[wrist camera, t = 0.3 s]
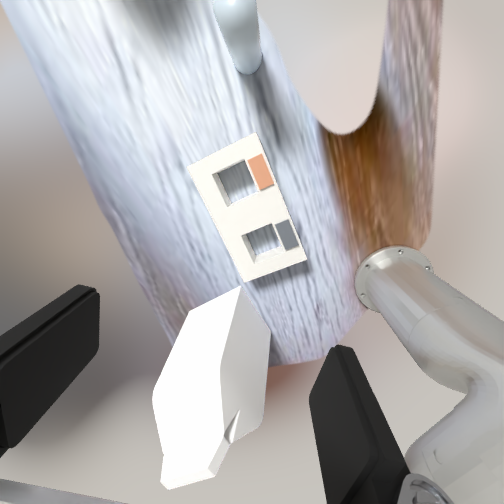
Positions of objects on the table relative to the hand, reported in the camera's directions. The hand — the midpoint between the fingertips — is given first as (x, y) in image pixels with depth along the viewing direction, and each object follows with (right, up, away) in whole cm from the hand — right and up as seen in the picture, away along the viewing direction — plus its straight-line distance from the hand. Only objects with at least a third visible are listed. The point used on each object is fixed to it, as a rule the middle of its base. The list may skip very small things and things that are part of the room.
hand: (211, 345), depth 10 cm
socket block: (+2, +11, +31) cm, 33 cm away
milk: (-3, -10, +39) cm, 40 cm away
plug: (+1, +31, +24) cm, 39 cm away
